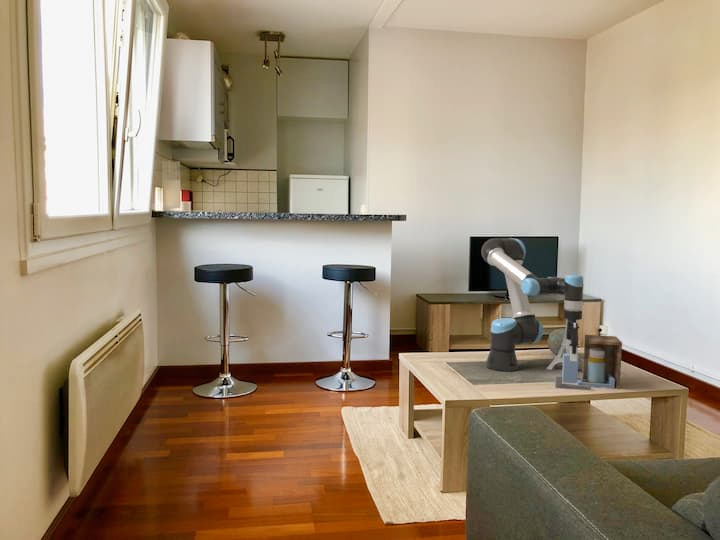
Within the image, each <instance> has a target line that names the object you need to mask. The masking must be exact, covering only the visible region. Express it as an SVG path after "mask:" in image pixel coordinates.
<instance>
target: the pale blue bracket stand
mask: <svg viewBox="0 0 720 540" xmlns="http://www.w3.org/2000/svg"><path fill="white" fill-rule="evenodd" d="M579 359H580V358H579V354H577V361H570V354H564V353H563V365H562V366H561V367H562V371H561V372H562V373H561V375H562V383H567V384H576V385H588V386H590V387H591V388H601V387H606V388H605V389H615V386H614V385H615V379H614V378H613V376H612V375H611V374H610V373H607V375H606V381H605V383H603V384H601V383H588V381H586V382H585V381H582V380H581V378H580V377H578V374H579V369H578V360H579Z"/></svg>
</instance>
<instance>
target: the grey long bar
mask: <svg viewBox="0 0 720 540" xmlns="http://www.w3.org/2000/svg"><path fill="white" fill-rule="evenodd" d="M554 381H555V384H554V386H555V389H569V390H582V391H591V388H592V387H590V386H588V385H578V384H576V383H563V381H562V374H560V375H559V374H555V380H554Z"/></svg>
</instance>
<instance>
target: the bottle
mask: <svg viewBox="0 0 720 540" xmlns="http://www.w3.org/2000/svg"><path fill="white" fill-rule="evenodd" d="M604 355H605V350H604V349H599V348H591V349H590V356H589V359H588V374H587V381H586V382H588V383H601V384H605V381H604V377H605V358H604V357H605V356H604Z"/></svg>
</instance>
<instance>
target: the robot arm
mask: <svg viewBox="0 0 720 540" xmlns="http://www.w3.org/2000/svg"><path fill="white" fill-rule="evenodd" d="M526 252H527V250H526V246H525V244H524V243H523V241H522V240H520V239H518V238H512V237H509V238H506V237H505V238H498V237H497V238H490V239H488V240H487V241H485V242H484V243H483V245H482V247H481V256H482V258H483V260H484V261H485V262H486V263H487V264H489V265H490V266H495V267H496V269H499V271H501V272H503V274H504V277H505V282H506V287H507V290H508V295H509V301H510V306H511V310H512V317H501V318H500V317H499V318H496V319H494V320H492V322H491V327H490V346H489V347H490V350H489V353H488V355H487V359H486V361H485V362H486V363H485V366H487V367H488V369H489V368H491V369H490V370H492V369H494V370H493V371H497V370H499V371H500V372H515V371H517V370H519V362H518V359H517V354H516V346H519V345H520V346H521V345H532V344H535V343H536V344H537V343H538V342H539V341H541V340H542V337H543V335H544V325H543V323H542V322H541V321H540V320H539V319H537V318H536V315H535V314H534V313H533V312H532V311H531V306H530V302H529V297H528V296H531V297H532V296H533V297H534V296H543V295H544V296H546V295H548V296H549V295H563V296H564V300H563V301H564V302H563V309H564V310H563V318H564V319H565V320H566V319H568V323H567V334H566V337H567V339H568V340H567V345H566V354H570V361H577V355H578V347H579V333H578V332H579V331H578V328H579V324H578V322H577V321H578V320H580V321H581V320H582V318H583V311H582V310H583V306H585V304H584V302H583V298H584V297H583V296H584V277H583V275H581V274H566V275H565V277H558V276H547V277H537V276H536V275H534V274H533V273H532V272H531V271H529V270H528V269H526V268H525V267H523V266H522V265H523V263H524V259H525V258H526ZM487 367H486V368H487ZM499 371H498V372H499Z"/></svg>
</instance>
